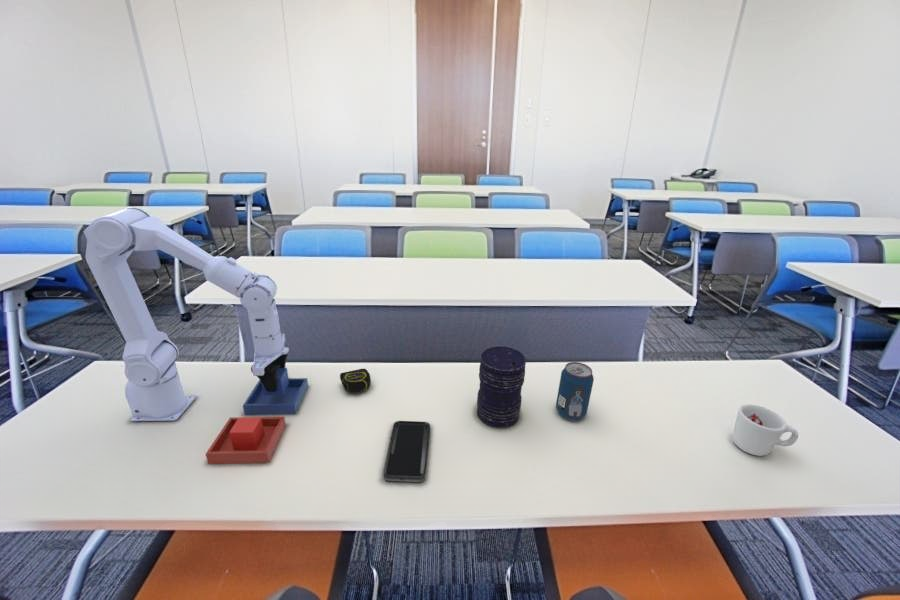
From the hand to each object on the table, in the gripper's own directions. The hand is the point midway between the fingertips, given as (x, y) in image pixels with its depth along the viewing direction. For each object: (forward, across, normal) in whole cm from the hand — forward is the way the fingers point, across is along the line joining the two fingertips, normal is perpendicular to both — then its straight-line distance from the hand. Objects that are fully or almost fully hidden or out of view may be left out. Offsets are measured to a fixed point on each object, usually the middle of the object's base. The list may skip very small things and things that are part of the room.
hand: (275, 384), depth 91 cm
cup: (+5, -18, -104) cm, 106 cm away
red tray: (+4, -14, +1) cm, 15 cm away
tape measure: (+5, +5, -17) cm, 18 cm away
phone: (+4, -17, -31) cm, 36 cm away
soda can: (+5, -6, -68) cm, 68 cm away
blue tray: (+4, 0, 0) cm, 4 cm away
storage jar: (+5, -6, -51) cm, 52 cm away
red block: (+4, -14, +1) cm, 15 cm away
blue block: (+1, 0, 0) cm, 1 cm away
